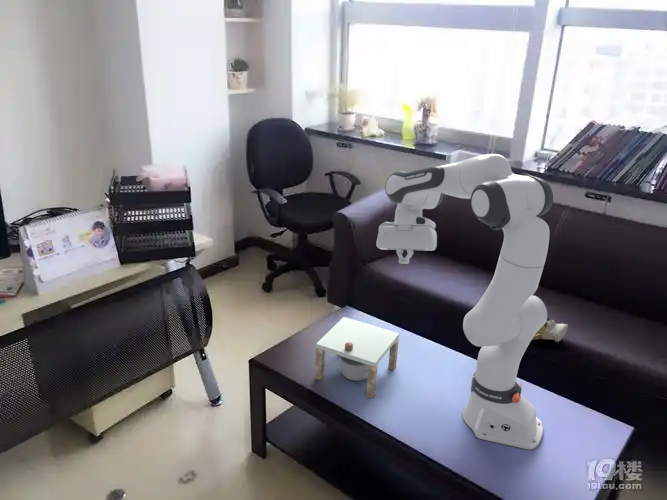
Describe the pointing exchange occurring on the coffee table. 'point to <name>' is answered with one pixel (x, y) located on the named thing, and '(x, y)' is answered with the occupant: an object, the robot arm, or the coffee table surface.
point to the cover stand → (371, 372)
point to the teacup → (353, 369)
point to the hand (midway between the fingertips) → (403, 263)
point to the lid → (358, 341)
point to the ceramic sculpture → (551, 331)
